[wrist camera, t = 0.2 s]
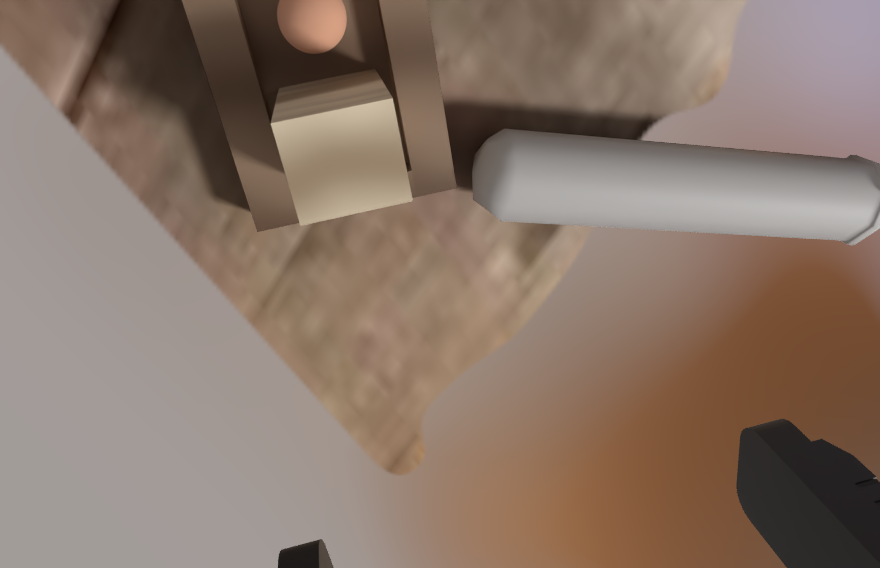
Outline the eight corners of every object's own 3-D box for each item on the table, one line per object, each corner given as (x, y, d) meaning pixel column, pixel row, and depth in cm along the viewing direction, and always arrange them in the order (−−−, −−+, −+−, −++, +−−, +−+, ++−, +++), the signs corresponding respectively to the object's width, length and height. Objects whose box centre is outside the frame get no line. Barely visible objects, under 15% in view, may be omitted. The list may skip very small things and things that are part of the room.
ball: (270, -15, 31) (266, -12, 28) (336, -27, 31) (339, -26, 28) (288, 55, 32) (286, 64, 29) (351, 42, 32) (355, 50, 29)
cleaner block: (279, 88, 33) (270, 123, 26) (375, 68, 33) (392, 98, 26) (302, 171, 35) (300, 225, 28) (392, 152, 35) (412, 200, 28)
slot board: (156, -111, 29) (144, -116, 27) (394, -152, 30) (401, -161, 28) (260, 215, 36) (257, 231, 34) (448, 174, 37) (456, 188, 35)
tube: (469, 241, 35) (854, 260, 40) (491, 159, 32) (911, 191, 37) (456, 183, 39) (810, 207, 44) (474, 103, 35) (858, 140, 40)
